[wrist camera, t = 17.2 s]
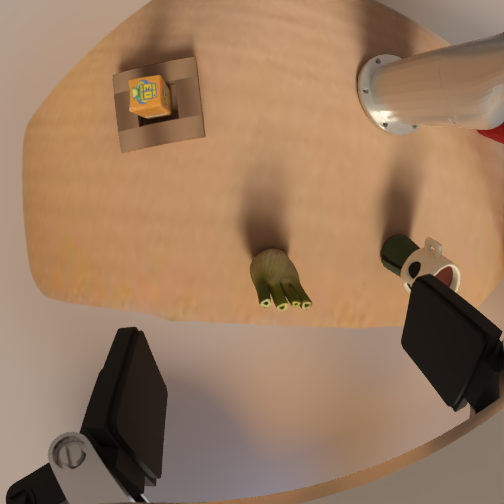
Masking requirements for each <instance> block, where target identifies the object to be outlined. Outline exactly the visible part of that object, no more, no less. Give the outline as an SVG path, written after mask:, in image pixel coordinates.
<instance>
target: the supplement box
mask: <svg viewBox="0 0 504 504" xmlns="http://www.w3.org/2000/svg"><path fill="white" fill-rule="evenodd" d="M129 90H130V104H129V111H130V112H132V113H135V114H137V115H139V116H142V117H144V118H146V119H155V118H161V117H166V116H171V115H172V114H173V112H172V93H171V91H170V90H169V88H168V86H167V85H166V83H165V81H164V80H163V78H162V76H161V75H155V76H148V77H142V78H136V79H130V80H129Z"/></svg>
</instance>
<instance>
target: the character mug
mask: <svg viewBox="0 0 504 504" xmlns="http://www.w3.org/2000/svg"><path fill="white" fill-rule="evenodd" d="M431 246H432V247H433V248H435V250H433V249H431ZM441 253H442V245H441V244H440V243H439V242H437V241H435V240H434V239H432V238H429V237H427V238H426V240H425V247H424V248H419V247H418V246H417V245H416V244H415V243H414V242H413V241H412V240H410V239H409V238H408V237H407V236H405V235H397V236H394V237H391V238H390V239H389V240H388V241H387V242H386V243H385V245H384V248H383V250H382V254H383V255H385V256H386V261H387V262H386V261H385V260H383V259H381V261H382V263H383V265H384V267H386V268H387V269H389V270H390V271H392V272H393V273H395V274H396V275H398V276H400V277H401V280H402V284H403V285H404V287H405V289H406V290H407V291H408V292H409V293H411V287H412V284H413V282H414V281H415V279H416V278H417V277H418V276H422V275H426V274H432V275H434V276H435V277H436V278H437V279H439V280H440V281H441V282H443V283H444V284H445V285H447V286H448V287H449V288H451V289H452V290H453V291H454V292H457V290H458V287H459V284H460V279H461V273H460V270H459V267H458V266H457V265H456V264H454V263H453V262H452V261H450V260H449V259H447V258H446V257H444V256H442V255H441Z"/></svg>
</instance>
